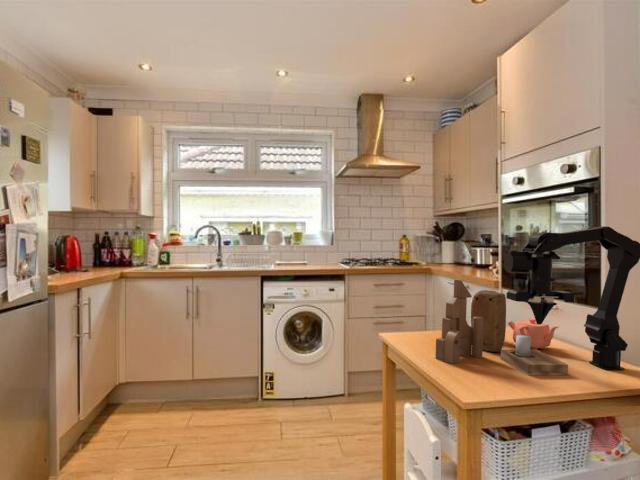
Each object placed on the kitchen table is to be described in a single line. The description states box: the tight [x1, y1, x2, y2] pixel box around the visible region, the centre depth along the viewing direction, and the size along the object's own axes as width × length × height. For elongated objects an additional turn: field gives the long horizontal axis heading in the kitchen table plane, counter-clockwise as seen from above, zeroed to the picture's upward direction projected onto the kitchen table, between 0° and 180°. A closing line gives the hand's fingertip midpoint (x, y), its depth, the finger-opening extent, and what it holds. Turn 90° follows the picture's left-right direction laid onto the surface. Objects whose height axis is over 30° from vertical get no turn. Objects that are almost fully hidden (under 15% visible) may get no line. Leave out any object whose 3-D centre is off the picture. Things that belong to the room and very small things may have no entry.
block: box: [470, 289, 507, 353], centre depth 134 cm, size 11×8×20 cm
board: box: [500, 349, 569, 376], centre depth 117 cm, size 12×14×3 cm
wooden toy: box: [435, 278, 484, 365], centre depth 123 cm, size 16×7×25 cm, turn 122°
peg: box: [515, 335, 531, 357], centre depth 118 cm, size 4×4×8 cm
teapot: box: [507, 318, 559, 351], centre depth 138 cm, size 14×12×10 cm
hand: (539, 324), depth 119 cm, fingers closed
